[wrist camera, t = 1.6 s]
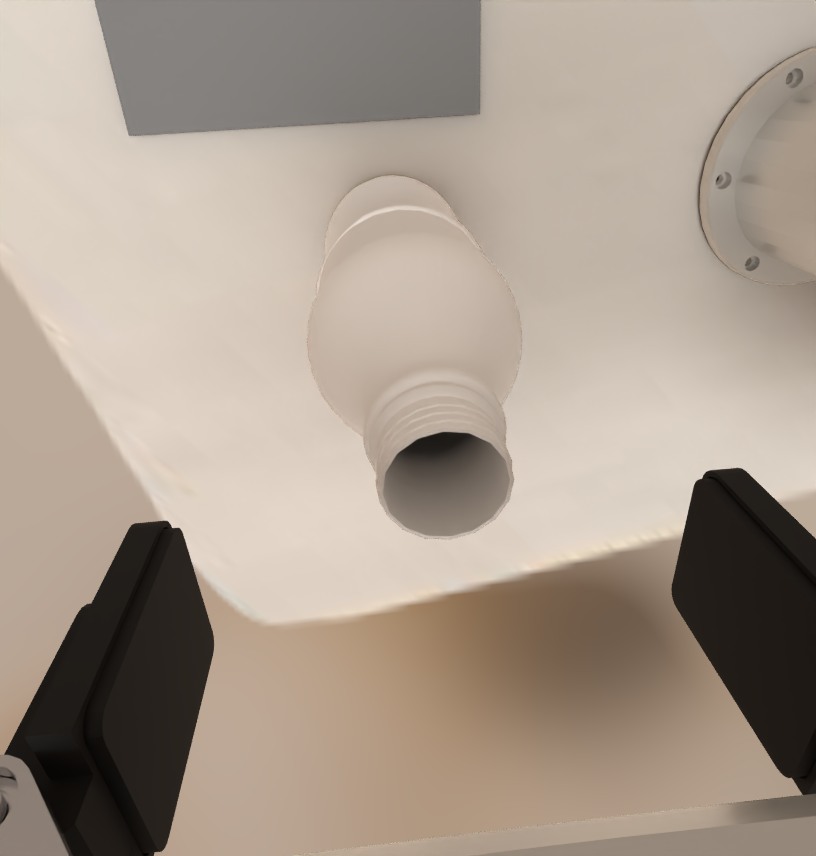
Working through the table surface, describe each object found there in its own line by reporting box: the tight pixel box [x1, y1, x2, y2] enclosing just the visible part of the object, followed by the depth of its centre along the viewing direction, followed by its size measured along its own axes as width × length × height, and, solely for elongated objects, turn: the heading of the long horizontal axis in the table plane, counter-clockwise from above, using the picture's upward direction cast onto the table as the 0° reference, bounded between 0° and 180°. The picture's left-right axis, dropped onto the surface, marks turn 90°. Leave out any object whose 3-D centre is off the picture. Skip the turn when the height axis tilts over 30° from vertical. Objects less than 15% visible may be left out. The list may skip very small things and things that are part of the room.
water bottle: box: [307, 175, 522, 540], centre depth 24 cm, size 7×7×25 cm
